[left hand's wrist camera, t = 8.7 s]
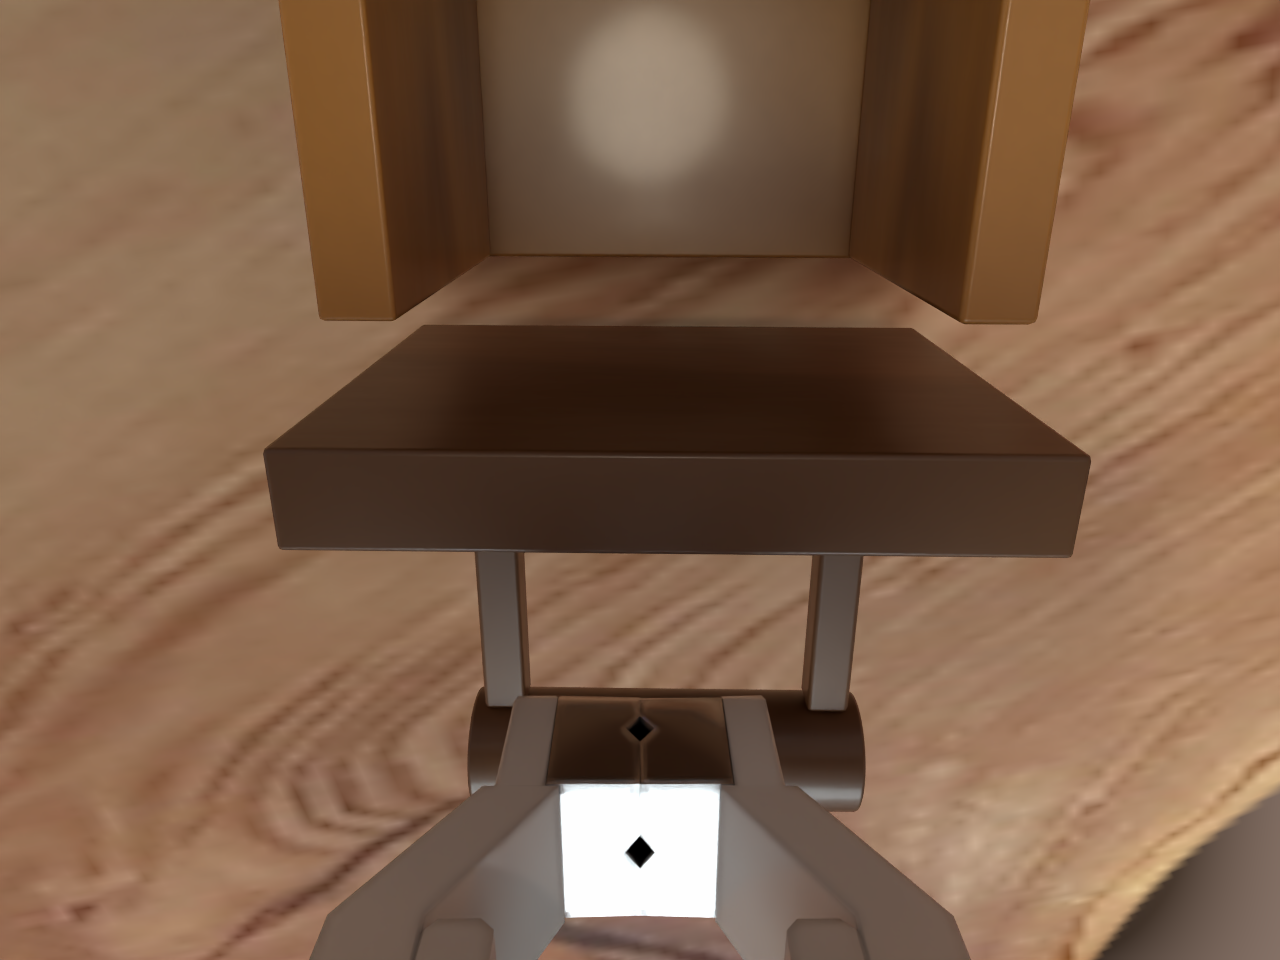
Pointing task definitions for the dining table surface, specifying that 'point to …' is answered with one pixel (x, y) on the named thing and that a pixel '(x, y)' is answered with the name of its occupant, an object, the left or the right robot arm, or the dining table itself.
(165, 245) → the dining table surface
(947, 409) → the drawer
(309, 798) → the dining table surface
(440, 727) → the dining table surface
